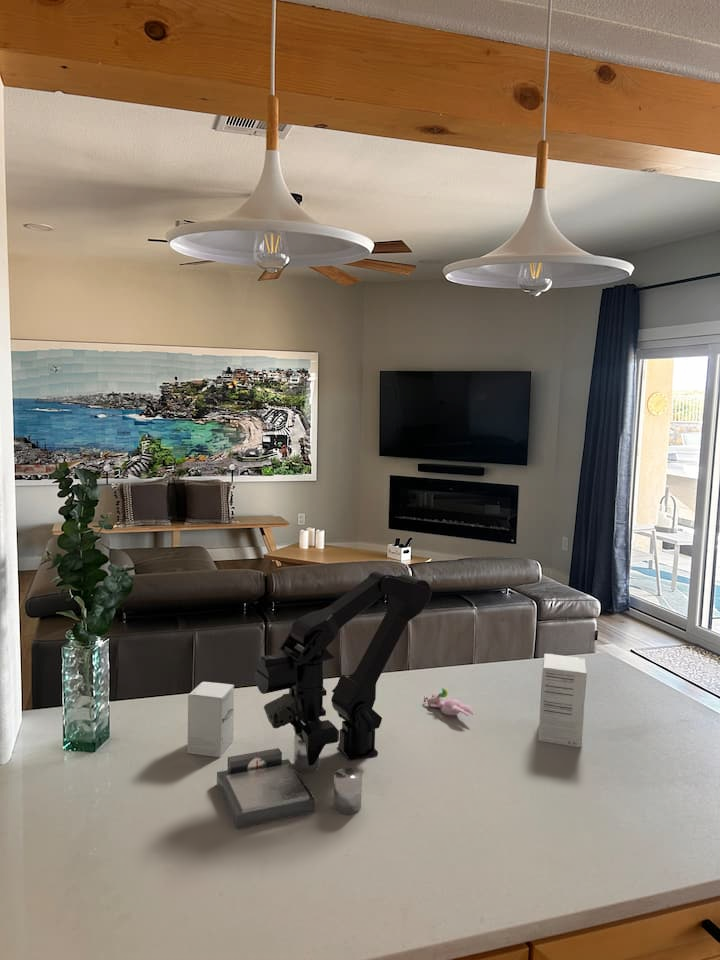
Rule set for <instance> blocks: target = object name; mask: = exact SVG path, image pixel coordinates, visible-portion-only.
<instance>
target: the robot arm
mask: <svg viewBox="0 0 720 960" xmlns="http://www.w3.org/2000/svg"><path fill="white" fill-rule="evenodd" d="M432 593H433V591H432V590H431V586H430V583H429V582H427V581H426V580H423V579H421V578H419V577H416V576H413V575H410V574H408V573H402V574H400V575H397V576H396V575H393V574H388V573H383V572H380V571H372V572H371V573H369V575H368V577H366V578H365V579H364V580H362V581H361V582H359V584H357V585H356V586H354V587H353V588H351V589H350V590H349V591H348V592H346V593H344V595H342V596H341V597H339V598H338V599H336V600H335V601H334V602H333V603H331V604H330V605H328V606H327V607H324V608H323V609H318V610H315V611H314V610H313V611H310V612H309V613H306V614H304V615H302V616H300V617H298V618H297V619H295V621H294V622H293V623H292V625H291V629H290V632H288V634H287V637H285V639H284V641H283V643H282V644H281V646H280V647H279V649H278V650H279V652H280V654H273V655H263V656H261V657H260V662H259V663H258V664H257V665H256V670H255V673H254V679H255V683H256V687H257V689H258V691H259V692H260V693H261V694H262V695H265V694H269V693H274V692H279V691H284V690H288V692H287V693H283V694H282V695H281V696H279V697H277V698H276V699H273V700H271V701H270V702H268V703H266V704H264V706H263V709H264V711H265V715H266V718H267V719H268V723H270V725H271V727H272V728H273V729H279V728H281V727H285V726H286V725H288V724H290V725H292V727H293V730H294V734H295V735H296V734H297V733H300V732H302V734H300V735H299V737H300V738H301V739H302V741H303V742H304V743H306V751H307V759H308V765H309V766H311V765H314V764H315V762H316V760H317V758H318V757H319V758H320V755H321V753H322V751H323V749H324V748H325V746H326V745H330V744H334V743H338V742H339V743H338V745H337V746H338V748H339V749H340V750H341V752H342V753H343V754H344V755H345V756H346V758H347V759H348V760H350V761H353V760H358V759H363V758H368V757H373V756H378V755H379V752H378V750H377V749H376V748H375V744H376V730H377V729H379V728H380V726H381V723H382V721H383V718H382V717H383V716H381V715H380V714H379V713H378V712H376V711H375V710H374V709H373V707H374V705H375V702H376V699H377V698H376V697H377V689H376V687H377V683H378V680H379V679H380V677H381V674H382V673H383V671H384V668H385V667H386V666H387V664H388V661H389V659H390V657H391V655H392V653H393V652H394V650H395V648H396V646H397V644H398V642H399V641H400V638H401V637H402V634H403V633H404V631H405V629H406V627H407V625H408V623H409V622H410V621H411V620H412V619H414V618H415V617H418V615H419V614H421V613H422V612H423V610H424V609H425V607H426V606H427V604H428V603H429V601H430V600H431V598H432ZM385 595H387V610H386V612H385V614H384V617H383V619H382V621H381V622H380V624H379V626H378V628H377V630H376V631H375V634H374V635H373V636H372V638H371V641H370V643H369V645H368V646H367V648H366V650H365V652H364V654H363V656H362V658H361V659H360V662H359V663H358V665H357V668H356V669H355V670H354V672H352V673H351V674H350V675H348V676H347V675H344V674H342V675H340V677H339V678H338V682H337V683H336V686H335V687H334V688H333V689H332V690H331V692H332V693H333V694H332V696H331V700H330V701H331V705H332V708H333V710H334V711H336V712H337V714H338V717H339V718H341V719H342V722H341V729H338V728H337V727H336V726H335V724H334V723H332V721H331V720H329V719H327V720H326V719H325V720H321V719H320V717H325V716H327V710H326V709H325V708H324V707H323V699H324V697H326V696H327V690H326V688H325V687H324V671H325V670H324V669H325V668H324V667H325V666H324V665H325V662H326V661H330V660H334V658H335V656H334V655H333V654H332V653H331V652H330V651H329V650H328V647H329V646H330V645H331V644H332V643H333V641H334V640H336V638H337V635H338V633H339V631H340V630H341V628H343V626H345V625H346V624H347V623H349V622H351V621H352V619H355V618H356V617H357V616H358V615H360V614H361V613H362V612H363V611H365V610H366V609H367V608H369V607H370V606H371V605H373V604H374V603H376V602H377V601H378V600H379V599H381V598H382V597H383V596H385ZM296 646H298V647H300V648H302V651H300V650H299V649H297V648H296ZM324 661H325V662H324ZM295 735H294V736H295Z"/></svg>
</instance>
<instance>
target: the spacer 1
mask: <svg viewBox="0 0 720 960" xmlns="http://www.w3.org/2000/svg"><path fill="white" fill-rule="evenodd" d="M300 734H302V732H300V733H297V734H296V735H294V740H293V741H294V743H293V744H294V746H293V767H294V768H295V770H296V771H297V772H299V773H312V772H315V771H317V770H318V769H319V767H320V756H319V757H318V758H317V760H316V762H315V764H314V765H311V766H309V765H308V759H307V751H306V743H304V742H303V741H302V739H301V738H300V737H299V735H300Z"/></svg>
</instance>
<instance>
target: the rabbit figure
mask: <svg viewBox="0 0 720 960" xmlns="http://www.w3.org/2000/svg"><path fill="white" fill-rule="evenodd" d="M441 690H442V692H439V693H438V694H437V695H436V694H434V695H433V694H431V698H429V697H427V696H426V697H425V696H424V698H423V702H422V704H423V703H424V704H426V703H427V706H428V707H430V708H437V709H441V713H443V714H444V715H447V716H450V717H452V716H456V715H457V716H458V714H460V713H461V714H463V715H465V716H468V717H469V716H470V715H469V714H471V715H474V711H473V708H472V707H471V706H470V705H468V704H464V703H463V704H462V703H461V702H460V701H459V700H457V699H454V698H449V699H447V700H446V701H444V699H443V698H446V697H447V696H448V691H447V689H445V688H443V687H442V688H441ZM468 713H469V714H468Z"/></svg>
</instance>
